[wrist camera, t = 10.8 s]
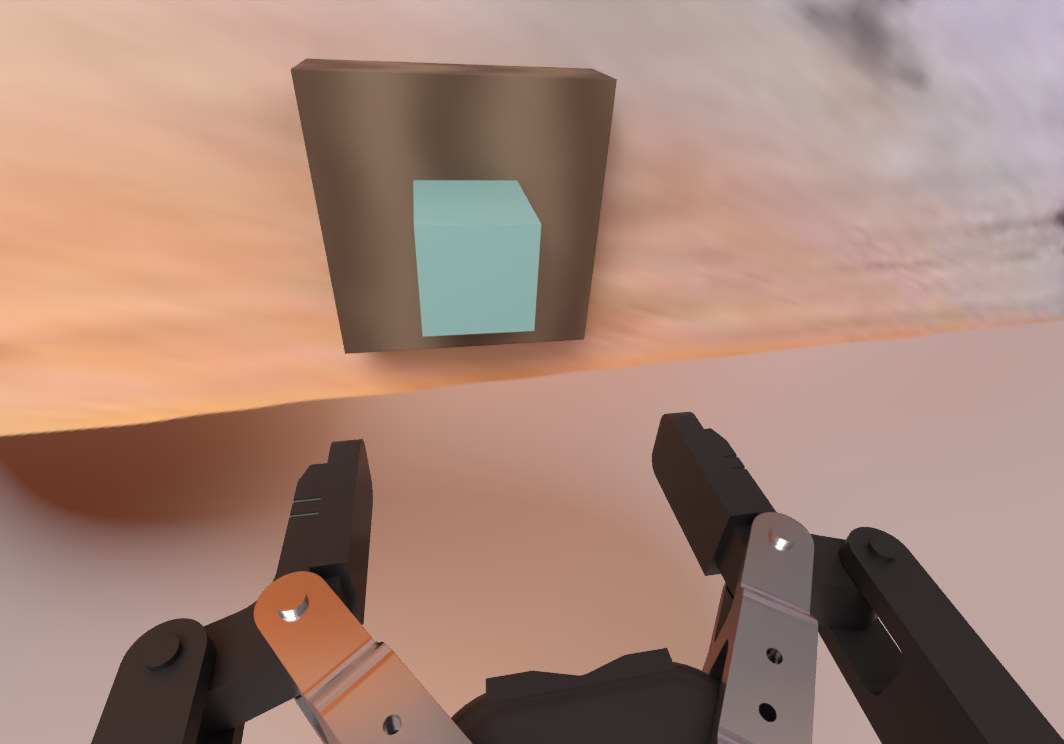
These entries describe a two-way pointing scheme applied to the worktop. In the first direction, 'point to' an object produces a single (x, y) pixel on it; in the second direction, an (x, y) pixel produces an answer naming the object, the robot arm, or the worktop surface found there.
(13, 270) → the worktop surface
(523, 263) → the teal block
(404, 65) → the stacking base
